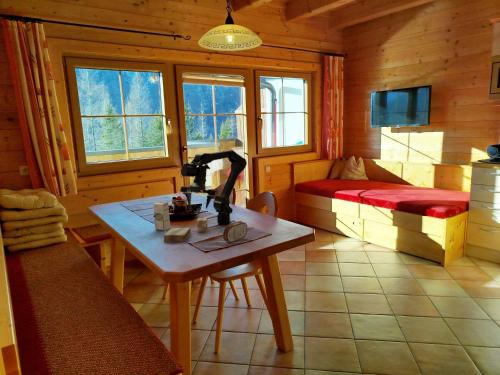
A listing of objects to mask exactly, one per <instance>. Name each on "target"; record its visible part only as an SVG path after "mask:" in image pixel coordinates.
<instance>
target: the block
mask: <svg viewBox="0 0 500 375" xmlns="http://www.w3.org/2000/svg"><path fill="white" fill-rule="evenodd" d="M196 226H197V227H196V228H197V232H198V233H199V232H200V233H204V232H207V231H208V229H209V228H208V217H199V218H197V220H196Z"/></svg>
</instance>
